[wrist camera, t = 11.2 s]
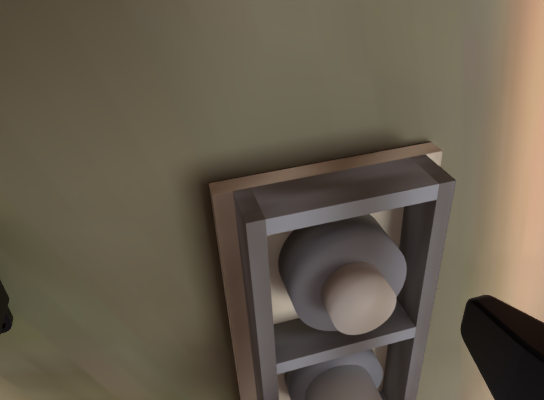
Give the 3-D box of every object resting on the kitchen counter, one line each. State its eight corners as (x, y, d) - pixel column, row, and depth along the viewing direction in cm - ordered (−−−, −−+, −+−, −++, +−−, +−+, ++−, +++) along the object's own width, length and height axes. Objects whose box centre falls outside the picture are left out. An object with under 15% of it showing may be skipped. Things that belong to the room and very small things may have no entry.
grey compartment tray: (243, 422, 32) (263, 500, 28) (208, 183, 21) (230, 251, 17) (397, 378, 34) (436, 445, 30) (431, 142, 24) (497, 194, 20)
